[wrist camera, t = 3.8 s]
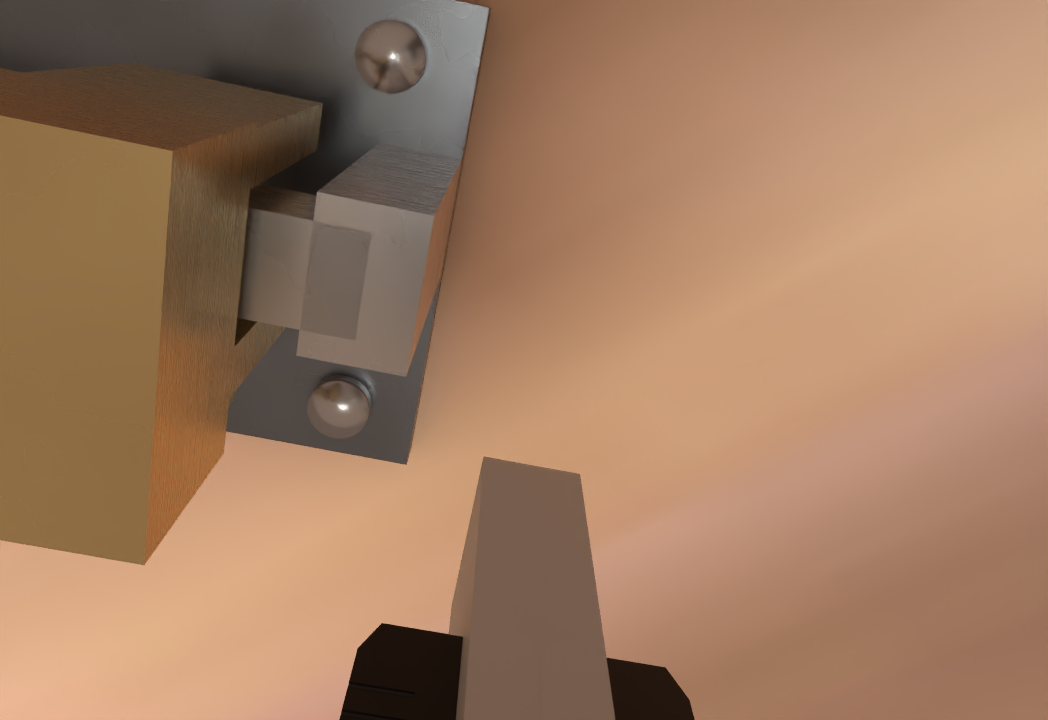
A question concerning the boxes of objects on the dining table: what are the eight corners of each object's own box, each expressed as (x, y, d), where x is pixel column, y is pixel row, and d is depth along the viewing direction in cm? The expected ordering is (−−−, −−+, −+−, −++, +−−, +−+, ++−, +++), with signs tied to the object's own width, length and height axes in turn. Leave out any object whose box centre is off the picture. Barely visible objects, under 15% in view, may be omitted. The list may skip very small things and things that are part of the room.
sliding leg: (167, 55, 20) (-168, 80, 10) (341, 92, 21) (172, 150, 11) (148, 348, 23) (-137, 591, 13) (303, 378, 23) (139, 638, 13)
